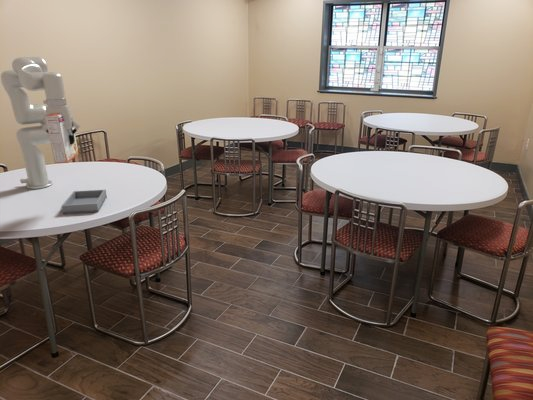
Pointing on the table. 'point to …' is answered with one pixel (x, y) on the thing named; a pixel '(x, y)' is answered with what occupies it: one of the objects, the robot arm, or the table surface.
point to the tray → (84, 201)
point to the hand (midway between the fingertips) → (64, 143)
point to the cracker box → (60, 139)
